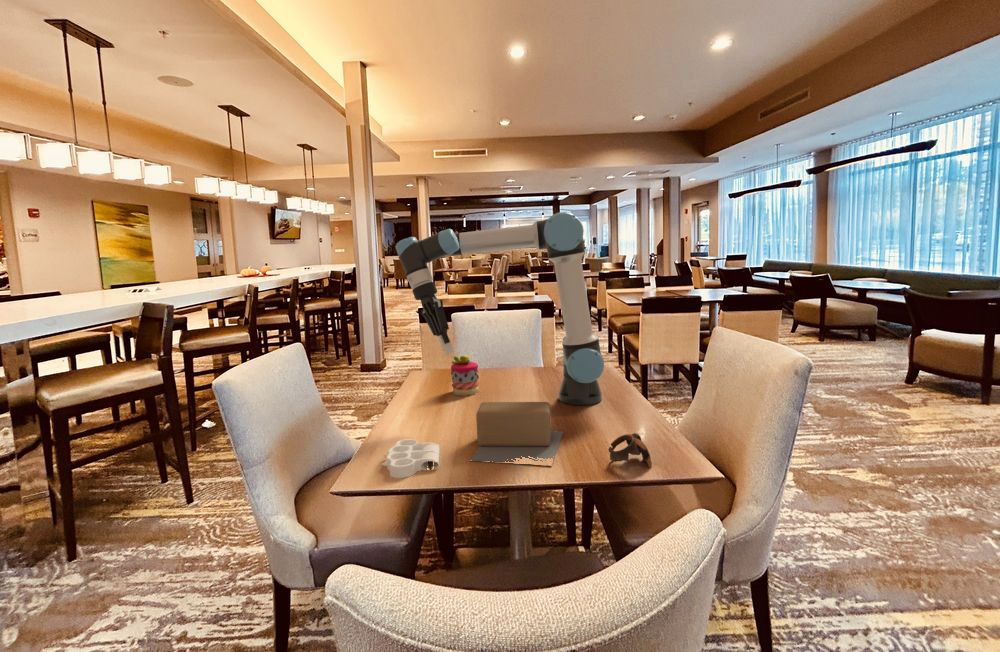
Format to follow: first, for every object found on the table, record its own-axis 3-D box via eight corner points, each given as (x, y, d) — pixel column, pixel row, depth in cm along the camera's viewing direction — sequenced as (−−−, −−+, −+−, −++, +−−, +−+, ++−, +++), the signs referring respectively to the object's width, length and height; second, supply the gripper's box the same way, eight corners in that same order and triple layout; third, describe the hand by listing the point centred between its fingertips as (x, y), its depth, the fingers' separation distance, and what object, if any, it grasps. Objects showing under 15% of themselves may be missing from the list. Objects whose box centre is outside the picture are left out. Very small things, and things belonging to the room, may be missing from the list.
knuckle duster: (438, 477, 123) (377, 481, 122) (440, 448, 141) (386, 452, 139) (438, 463, 123) (376, 468, 121) (439, 436, 140) (386, 440, 139)
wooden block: (482, 434, 148) (550, 434, 146) (477, 447, 139) (550, 447, 136) (480, 401, 147) (549, 400, 145) (475, 411, 137) (549, 411, 135)
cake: (453, 388, 200) (452, 351, 198) (480, 388, 200) (478, 350, 198) (450, 396, 190) (448, 357, 188) (478, 395, 190) (476, 356, 187)
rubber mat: (563, 432, 148) (563, 431, 148) (551, 466, 125) (551, 465, 125) (493, 429, 153) (493, 427, 153) (470, 461, 130) (470, 459, 130)
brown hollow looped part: (653, 476, 120) (635, 448, 118) (617, 485, 124) (600, 459, 123) (657, 445, 130) (642, 420, 128) (625, 455, 135) (609, 430, 133)
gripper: (405, 293, 166) (431, 360, 166) (419, 282, 155) (448, 354, 155) (425, 287, 170) (451, 352, 170) (440, 276, 159) (468, 346, 159)
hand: (449, 353), depth 162 cm, fingers closed
